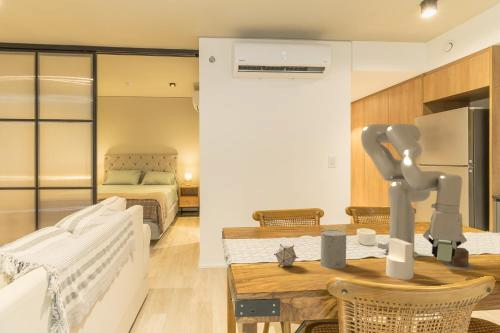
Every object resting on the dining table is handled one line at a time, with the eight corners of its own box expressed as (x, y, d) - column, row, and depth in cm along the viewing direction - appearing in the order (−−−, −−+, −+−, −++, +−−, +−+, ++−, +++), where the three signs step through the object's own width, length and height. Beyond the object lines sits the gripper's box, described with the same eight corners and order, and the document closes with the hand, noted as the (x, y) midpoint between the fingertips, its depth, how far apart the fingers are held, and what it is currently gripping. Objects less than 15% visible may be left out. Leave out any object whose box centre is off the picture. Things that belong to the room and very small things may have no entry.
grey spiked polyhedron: (289, 275, 136) (305, 253, 136) (285, 274, 128) (301, 251, 129) (271, 260, 140) (287, 239, 140) (266, 258, 132) (282, 236, 133)
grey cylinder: (318, 267, 134) (319, 234, 133) (322, 259, 143) (322, 229, 142) (344, 270, 130) (345, 236, 130) (347, 262, 139) (347, 231, 139)
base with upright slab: (419, 278, 123) (420, 243, 122) (397, 280, 120) (398, 245, 120) (401, 269, 131) (402, 237, 131) (380, 272, 129) (381, 239, 128)
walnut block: (453, 266, 134) (453, 250, 134) (449, 262, 139) (450, 247, 139) (468, 267, 133) (468, 251, 132) (464, 263, 138) (464, 248, 137)
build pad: (448, 268, 133) (448, 267, 133) (442, 261, 141) (442, 260, 141) (476, 270, 130) (476, 269, 130) (468, 263, 139) (468, 262, 139)
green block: (437, 259, 130) (438, 243, 129) (434, 255, 134) (435, 240, 133) (451, 261, 129) (452, 245, 128) (447, 257, 133) (449, 241, 132)
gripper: (423, 208, 128) (419, 257, 130) (477, 213, 123) (471, 263, 125) (420, 204, 135) (415, 251, 137) (470, 208, 131) (465, 256, 133)
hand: (442, 256), depth 131 cm, fingers closed on green block, 4 cm apart
